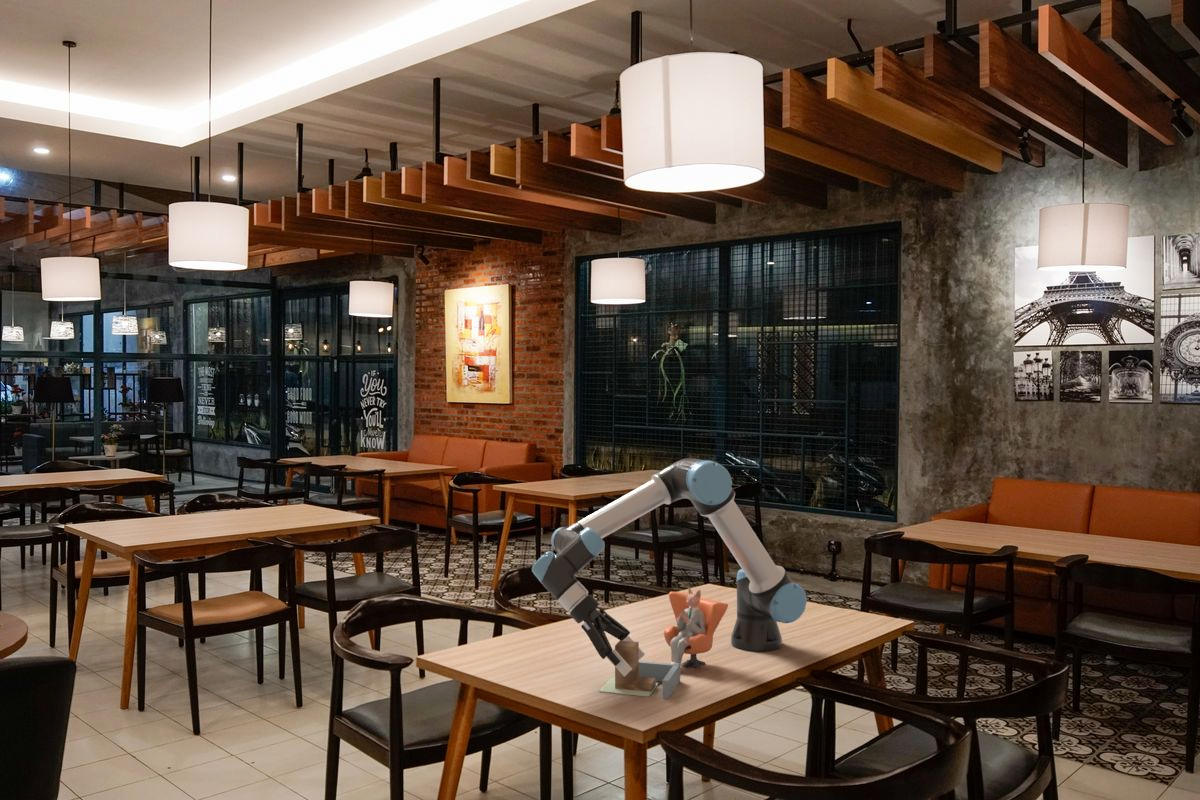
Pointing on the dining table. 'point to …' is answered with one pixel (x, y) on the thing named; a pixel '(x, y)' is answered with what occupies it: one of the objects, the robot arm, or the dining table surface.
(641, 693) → the pad
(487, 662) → the dining table surface
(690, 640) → the figure
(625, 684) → the brown boxy piece
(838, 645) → the dining table surface
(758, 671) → the dining table surface
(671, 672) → the corner wall
